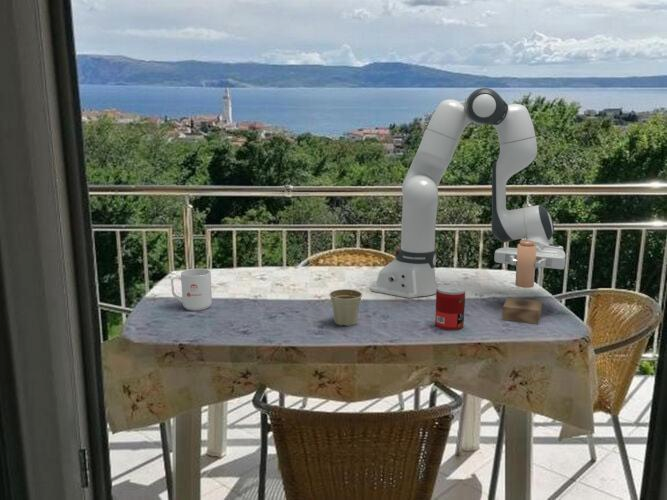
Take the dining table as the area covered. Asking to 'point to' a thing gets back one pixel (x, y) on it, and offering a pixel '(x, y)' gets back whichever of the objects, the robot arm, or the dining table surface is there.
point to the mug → (195, 289)
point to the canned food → (450, 307)
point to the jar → (525, 264)
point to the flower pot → (345, 306)
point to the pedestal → (522, 310)
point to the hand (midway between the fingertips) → (525, 263)
